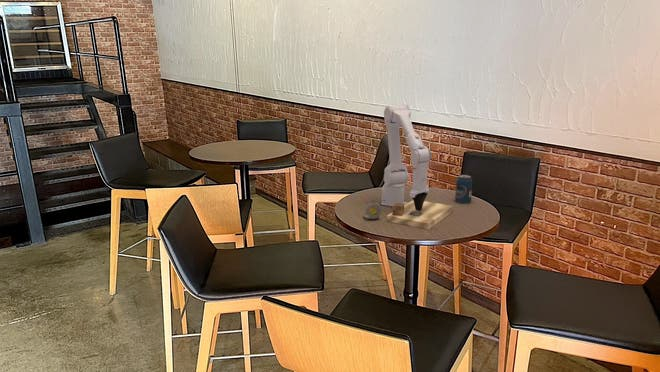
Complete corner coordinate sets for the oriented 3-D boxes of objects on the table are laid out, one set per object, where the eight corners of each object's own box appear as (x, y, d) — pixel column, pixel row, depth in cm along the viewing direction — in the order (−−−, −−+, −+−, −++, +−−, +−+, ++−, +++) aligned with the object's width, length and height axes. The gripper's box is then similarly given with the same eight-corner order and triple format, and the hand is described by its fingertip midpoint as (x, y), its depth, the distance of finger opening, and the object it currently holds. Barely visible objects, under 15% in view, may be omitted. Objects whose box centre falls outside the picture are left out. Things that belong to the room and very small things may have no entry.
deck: (386, 221, 203) (387, 215, 203) (413, 204, 224) (413, 199, 223) (428, 229, 194) (428, 223, 193) (452, 211, 215) (452, 205, 214)
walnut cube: (392, 215, 203) (392, 205, 202) (394, 212, 207) (394, 202, 206) (402, 216, 202) (402, 206, 201) (403, 212, 205) (404, 203, 204)
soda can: (452, 202, 228) (453, 176, 224) (459, 198, 233) (461, 173, 229) (466, 204, 223) (468, 178, 220) (473, 201, 228) (475, 175, 225)
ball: (412, 217, 207) (410, 220, 204) (412, 209, 206) (410, 212, 203) (420, 218, 206) (419, 221, 203) (421, 210, 205) (419, 212, 202)
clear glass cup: (370, 213, 213) (370, 191, 210) (385, 218, 207) (386, 195, 204) (357, 218, 207) (357, 195, 204) (372, 223, 201) (373, 199, 199)
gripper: (421, 183, 195) (420, 216, 198) (436, 175, 206) (434, 207, 210) (405, 180, 198) (404, 213, 202) (420, 173, 210) (418, 204, 214)
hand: (418, 210), depth 206 cm, fingers closed
